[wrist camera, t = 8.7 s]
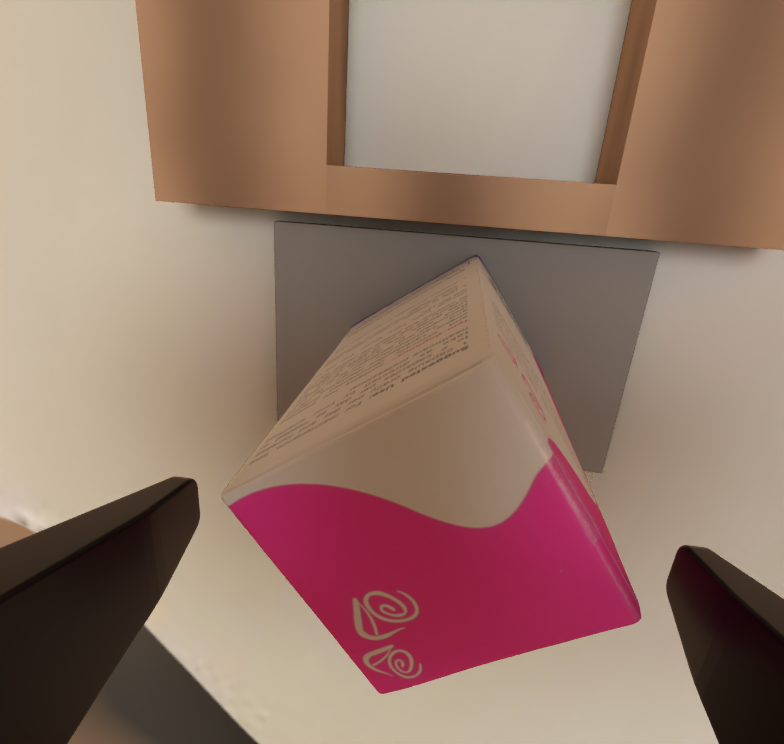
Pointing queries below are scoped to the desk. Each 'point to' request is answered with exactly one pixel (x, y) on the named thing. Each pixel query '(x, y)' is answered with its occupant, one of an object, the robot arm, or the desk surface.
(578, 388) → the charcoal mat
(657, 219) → the brown wooden frame
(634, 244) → the desk surface
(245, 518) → the supplement box
